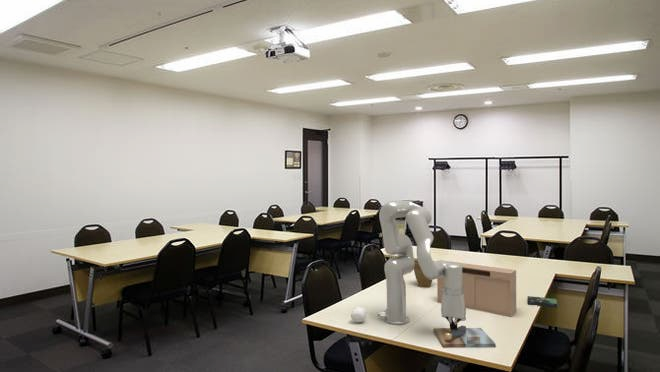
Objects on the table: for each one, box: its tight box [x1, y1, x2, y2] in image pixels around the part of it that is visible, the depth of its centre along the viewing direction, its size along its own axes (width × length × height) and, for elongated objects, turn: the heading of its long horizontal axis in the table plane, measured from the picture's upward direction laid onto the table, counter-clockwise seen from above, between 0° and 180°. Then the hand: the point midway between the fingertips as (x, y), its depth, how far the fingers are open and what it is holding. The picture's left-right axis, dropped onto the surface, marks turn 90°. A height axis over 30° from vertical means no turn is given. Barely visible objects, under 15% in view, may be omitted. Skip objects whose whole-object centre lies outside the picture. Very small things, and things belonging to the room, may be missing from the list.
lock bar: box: [445, 325, 467, 342], centre depth 182 cm, size 14×3×3 cm, turn 133°
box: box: [436, 260, 517, 318], centre depth 227 cm, size 10×40×22 cm, turn 50°
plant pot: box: [413, 259, 436, 289], centre depth 271 cm, size 15×15×16 cm
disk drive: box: [527, 295, 559, 309], centre depth 232 cm, size 10×3×15 cm
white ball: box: [350, 306, 368, 324], centre depth 207 cm, size 8×8×8 cm
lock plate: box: [432, 327, 496, 348], centre depth 184 cm, size 22×18×4 cm
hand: (453, 331), depth 187 cm, fingers closed
